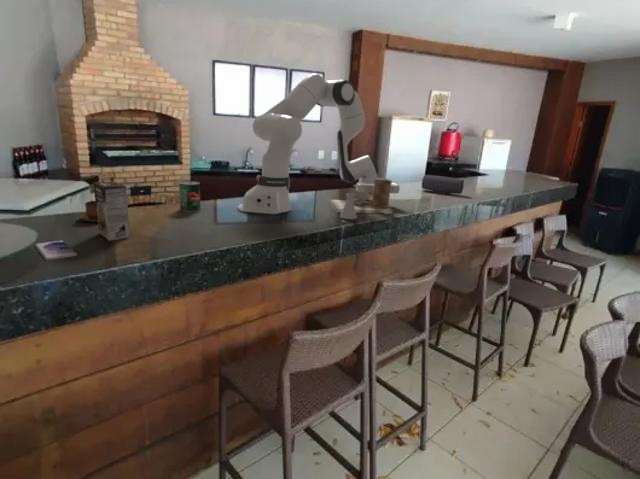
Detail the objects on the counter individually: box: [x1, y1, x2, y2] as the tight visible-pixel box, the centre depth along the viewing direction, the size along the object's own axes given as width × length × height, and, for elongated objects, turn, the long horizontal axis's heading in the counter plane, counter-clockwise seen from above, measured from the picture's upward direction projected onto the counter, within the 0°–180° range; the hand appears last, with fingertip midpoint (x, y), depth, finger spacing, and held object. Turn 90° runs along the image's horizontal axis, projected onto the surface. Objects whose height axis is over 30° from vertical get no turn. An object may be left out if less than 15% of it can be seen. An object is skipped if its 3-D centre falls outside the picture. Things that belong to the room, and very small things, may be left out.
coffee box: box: [93, 181, 131, 242], centre depth 120 cm, size 9×6×16 cm
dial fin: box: [353, 179, 391, 208], centre depth 178 cm, size 16×4×12 cm, turn 71°
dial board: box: [329, 199, 394, 215], centre depth 182 cm, size 25×20×2 cm
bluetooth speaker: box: [421, 174, 465, 195], centre depth 236 cm, size 23×9×10 cm, turn 58°
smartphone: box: [34, 240, 78, 261], centre depth 107 cm, size 7×1×15 cm
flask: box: [339, 192, 358, 220], centre depth 161 cm, size 7×7×10 cm
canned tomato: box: [178, 180, 201, 213], centre depth 159 cm, size 8×8×11 cm
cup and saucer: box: [78, 200, 98, 223], centre depth 137 cm, size 12×12×6 cm
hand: (381, 191), depth 178 cm, fingers closed
